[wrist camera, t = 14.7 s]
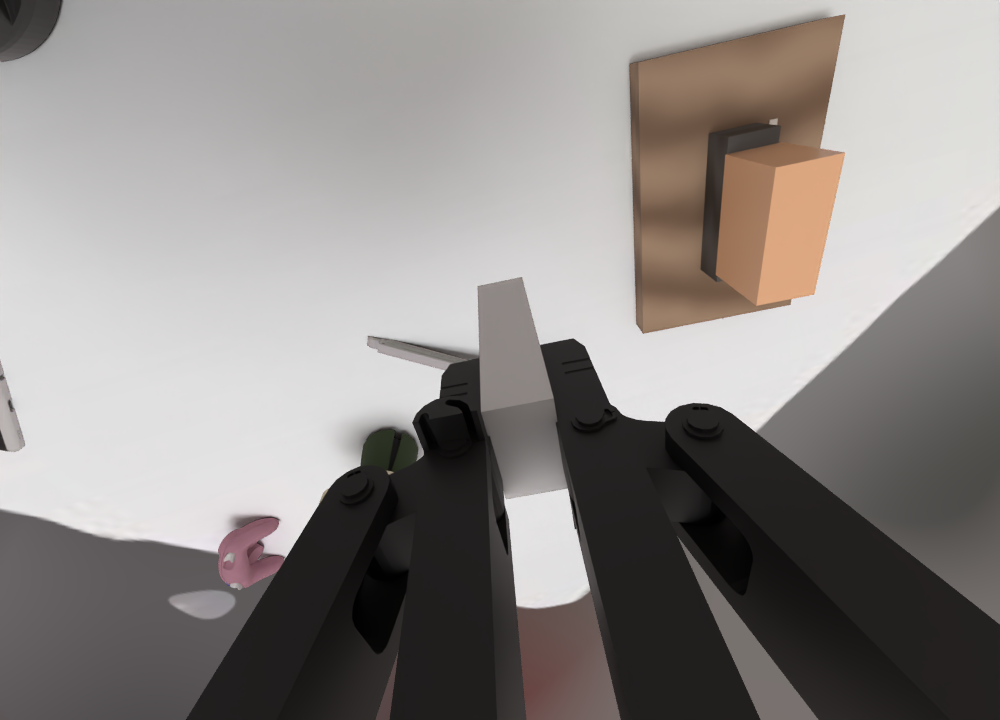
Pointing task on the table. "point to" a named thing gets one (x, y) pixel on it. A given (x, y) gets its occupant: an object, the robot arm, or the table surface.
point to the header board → (682, 151)
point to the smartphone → (8, 420)
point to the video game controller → (247, 554)
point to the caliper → (413, 353)
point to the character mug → (388, 452)
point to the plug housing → (776, 219)
